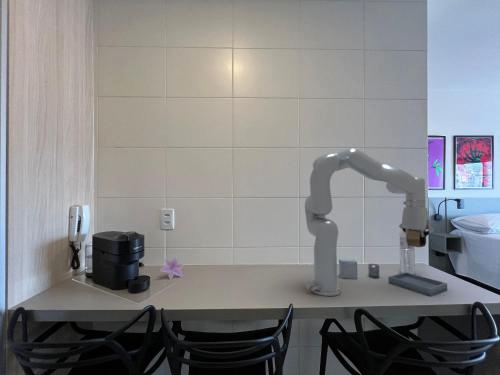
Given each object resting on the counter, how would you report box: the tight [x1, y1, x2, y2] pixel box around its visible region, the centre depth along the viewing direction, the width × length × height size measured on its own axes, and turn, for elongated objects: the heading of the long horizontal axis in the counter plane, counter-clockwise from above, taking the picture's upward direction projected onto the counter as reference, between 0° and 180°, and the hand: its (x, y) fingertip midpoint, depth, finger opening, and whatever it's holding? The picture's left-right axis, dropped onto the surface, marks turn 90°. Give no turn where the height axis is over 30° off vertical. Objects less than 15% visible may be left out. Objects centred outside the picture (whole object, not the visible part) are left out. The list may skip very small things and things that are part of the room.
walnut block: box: [407, 229, 426, 248], centre depth 116 cm, size 5×5×7 cm
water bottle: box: [399, 229, 416, 275], centre depth 135 cm, size 7×7×25 cm
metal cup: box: [367, 263, 380, 279], centre depth 129 cm, size 5×5×6 cm
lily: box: [159, 254, 185, 280], centre depth 131 cm, size 12×12×10 cm
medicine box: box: [338, 258, 358, 280], centre depth 129 cm, size 8×4×9 cm, turn 84°
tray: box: [388, 272, 448, 297], centre depth 116 cm, size 14×18×3 cm
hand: (416, 243), depth 116 cm, fingers closed on walnut block, 5 cm apart
